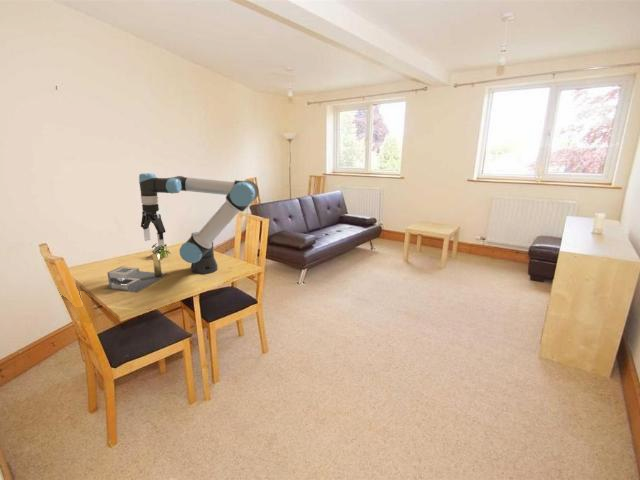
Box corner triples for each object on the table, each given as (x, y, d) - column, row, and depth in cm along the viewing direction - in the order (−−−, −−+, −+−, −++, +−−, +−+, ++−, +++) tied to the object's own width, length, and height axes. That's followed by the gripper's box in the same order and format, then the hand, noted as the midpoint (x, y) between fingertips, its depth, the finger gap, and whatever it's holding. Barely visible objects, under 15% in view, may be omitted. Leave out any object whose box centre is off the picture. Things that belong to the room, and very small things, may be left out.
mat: (169, 274, 176) (169, 274, 175) (137, 293, 152) (137, 292, 152) (139, 271, 178) (139, 271, 178) (103, 289, 155) (103, 288, 155)
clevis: (140, 283, 162) (138, 268, 160) (127, 290, 154) (125, 274, 151) (123, 281, 164) (121, 266, 161) (109, 288, 155) (107, 272, 153)
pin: (163, 275, 173) (160, 253, 170) (159, 277, 170) (156, 255, 166) (157, 275, 174) (155, 253, 170) (153, 277, 170) (150, 254, 167)
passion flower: (156, 264, 207) (153, 247, 210) (173, 260, 209) (170, 243, 213) (150, 259, 196) (148, 242, 199) (169, 255, 199) (166, 238, 202)
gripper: (170, 205, 157) (174, 245, 163) (145, 200, 171) (149, 237, 176) (155, 207, 151) (160, 248, 157) (130, 201, 165) (135, 240, 170)
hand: (154, 242), depth 167 cm, fingers open, 13 cm apart
